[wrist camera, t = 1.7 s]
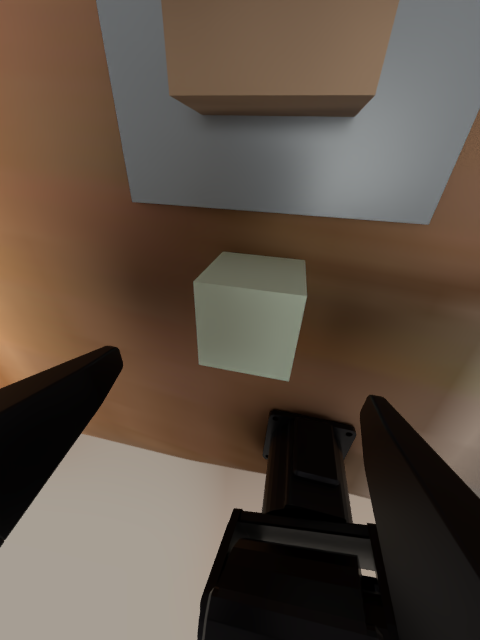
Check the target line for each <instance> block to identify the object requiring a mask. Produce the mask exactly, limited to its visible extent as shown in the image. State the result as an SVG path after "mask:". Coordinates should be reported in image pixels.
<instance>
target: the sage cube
mask: <svg viewBox="0 0 480 640" xmlns="http://www.w3.org/2000/svg"><path fill="white" fill-rule="evenodd" d="M193 285H194V300H195V315H196V329H197V344H198V359H199V365H203V366H209V367H214V368H219V369H225V370H230V371H236V372H241V373H246V374H252V375H257V376H262V377H268V378H273V379H278V380H284V381H289V379H290V374H291V369H292V364H293V360H294V355H295V350H296V346H297V341H298V336H299V332H300V327H301V322H302V318H303V313H304V308H305V303H306V299H307V286H306V266H305V260H298V259H289V258H279V257H270V256H261V255H251V254H242V253H232V252H222V253H221V254H220V255H219V256H218V257H217V258H216V259H215V260H214V261H213V262H212V263H211V264H210V265H209V266H208V267H207V268H206V269H205V270H204V271H203V272H202V273H201V274H200V275H199V276H198V277H197V278H196V279H195V280H194V281H193Z"/></svg>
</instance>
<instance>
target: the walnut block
mask: <svg viewBox="0 0 480 640" xmlns="http://www.w3.org/2000/svg"><path fill="white" fill-rule="evenodd" d="M398 4H399V0H161V5H162V16H163V28H164V39H165V51H166V63H167V74H168V86H169V96H171V97H173V98H174V99H176V100H178V101H179V102H181V103H183V104H185V105H186V106H188V107H190V108H191V109H193V110H195V111H196V112H198V113H200V114H202V115H238V116H320V117H355V116H356V115H357V114H358V113H359V112H360V111H361V110H362V109H363V107H364V106H365V105H366V104H367V103H368V102H369V101H370V100H371V99H372V98H373V97H374V96H375V94H376V90H377V86H378V82H379V78H380V75H381V71H382V67H383V63H384V59H385V55H386V51H387V47H388V43H389V39H390V35H391V31H392V27H393V24H394V20H395V16H396V12H397V8H398Z"/></svg>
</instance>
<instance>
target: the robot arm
mask: <svg viewBox="0 0 480 640" xmlns="http://www.w3.org/2000/svg"><path fill="white" fill-rule="evenodd" d="M122 368H123V361H122V358H121V354H120V351H119V349H118V348H117V347H113V346H104V347H102V348H99V349H97V350H94V351H92V352H90V353H87V354H85V355H82V356H80V357H77V358H75V359H72V360H70V361H67V362H65V363H62V364H60V365H57V366H55V367H53V368H50V369H48V370H45V371H43V372H40V373H38V374H35V375H33V376H30V377H28V378H25V379H23V380H20V381H18V382H16V383H13V384H11V385H8V386H6V387H3V388H1V389H0V547H1V545H2V544H3V543H4V540H5V539H6V538H7V537H8V535H9V534H10V533H11V531H12V530H13V528H14V527H15V526H16V524H17V523H18V521H19V520H20V518H21V517H22V516H23V514H24V513H25V511H26V510H27V509H28V507H29V506H30V504H31V503H32V502H33V500H34V499H35V497H36V496H37V495H38V493H39V492H40V490H41V489H42V488H43V486H44V484H45V483H46V482H47V480H48V479H49V478H50V476H51V475H52V474H53V472H54V471H55V469H56V468H57V467H58V465H59V463H60V462H61V461H62V460H63V458H64V457H65V455H66V454H67V452H68V451H69V450H70V448H71V447H72V445H73V444H74V443H75V441H76V440H77V438H78V437H79V436H80V434H81V433H82V431H83V430H84V429H85V427H86V426H87V424H88V423H89V422H90V420H91V419H92V417H93V416H94V415H95V413H96V412H97V410H98V409H99V407H100V406H101V404H102V403H103V401H104V400H105V398H106V396H107V394H108V393H109V391H110V389H111V388H112V386H113V384H114V382H115V381H116V379H117V377H118V375H119V374H120V372H121V370H122ZM360 424H361V436H362V447H363V458H364V466H365V472H366V477H367V482H368V487H369V492H370V497H371V502H372V507H373V512H374V517H375V521H376V524H371V523H367V525H362V524H353V521H352V515H351V507H350V501H349V494H348V487H347V480H346V474H345V467H344V458H345V457H346V455H347V453H348V451H349V449H350V447H351V445H352V443H353V441H354V439H355V437H356V431H355V428H354V427H352V426H349V425H344V424H340V423H335V422H330V421H325V420H320V419H316V418H311V417H306V416H301V415H296V414H292V413H287V412H282V411H277V410H273V411H271V412H270V414H269V420H268V426H267V432H266V438H265V444H264V450H263V457H264V458H265V459H267V460H268V464H267V473H266V481H265V490H264V499H263V507H262V513H257V512H248V511H243V510H242V509H235V508H234V509H233V512H232V515H231V518H230V520H229V522H228V525H227V527H226V530H225V533H224V536H223V539H222V541H221V544H220V547H219V550H218V553H217V556H216V558H215V561H214V564H213V567H212V570H211V572H210V575H209V578H208V581H207V584H206V587H205V589H204V592H203V595H202V598H201V602H200V616H199V625H198V640H480V498H479V497H478V496H477V495H476V494H475V493H474V492H473V491H472V490H471V489H470V488H469V487H468V486H467V485H466V484H465V483H464V481H463V480H462V479H461V478H460V477H459V476H458V475H457V474H456V473H455V472H454V471H453V470H452V469H451V468H450V467H449V466H448V465H447V463H446V462H445V461H444V460H443V459H442V458H441V457H440V456H439V455H438V454H437V453H436V452H435V451H434V450H433V449H432V448H431V447H430V446H429V444H428V443H427V442H426V441H425V440H424V439H423V438H422V437H421V436H420V435H419V434H418V433H417V432H416V431H415V430H414V429H413V428H412V426H411V425H410V424H409V423H408V422H407V421H406V420H405V419H404V418H403V417H402V416H401V415H400V414H399V413H398V412H397V411H396V410H395V409H394V407H393V406H392V405H391V404H390V403H389V402H388V401H387V400H386V399H385V398H384V397H381V396H376V395H369V396H368V397H367V399H366V401H365V403H364V405H363V407H362V409H361V412H360ZM360 568H361V569H366V570H372V571H375V573H376V578H374V577H368V576H362V574H361V569H360Z"/></svg>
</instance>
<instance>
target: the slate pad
mask: <svg viewBox="0 0 480 640" xmlns="http://www.w3.org/2000/svg"><path fill="white" fill-rule="evenodd" d="M96 3H97V9H98V14H99V20H100V25H101V31H102V36H103V42H104V48H105V53H106V59H107V64H108V70H109V76H110V81H111V87H112V92H113V98H114V103H115V109H116V115H117V120H118V126H119V131H120V137H121V142H122V148H123V154H124V159H125V165H126V170H127V176H128V181H129V187H130V193H131V198H132V202H140V203H153V204H166V205H180V206H193V207H206V208H219V209H232V210H245V211H258V212H271V213H284V214H297V215H310V216H323V217H336V218H349V219H362V220H375V221H388V222H401V223H415V224H428V225H429V223H430V220H431V218H432V216H433V214H434V211H435V209H436V207H437V204H438V202H439V200H440V198H441V195H442V193H443V191H444V188H445V186H446V184H447V182H448V179H449V177H450V175H451V172H452V170H453V168H454V166H455V163H456V161H457V159H458V156H459V154H460V152H461V150H462V147H463V145H464V143H465V140H466V138H467V136H468V134H469V131H470V129H471V127H472V124H473V122H474V120H475V118H476V115H477V113H478V111H479V108H480V0H399V4H398V8H397V12H396V16H395V20H394V24H393V27H392V31H391V35H390V39H389V43H388V47H387V51H386V55H385V59H384V63H383V67H382V71H381V75H380V78H379V82H378V86H377V90H376V94H375V96H374V97H373V98H372V99H371V100H370V101H369V102H368V103H367V104H366V105H365V106H364V107H363V109H362V110H361V111H360V112H359V113H358V114H357V115H356V116H355V117H320V116H238V115H202V114H200V113H198V112H196V111H195V110H193V109H191V108H190V107H188V106H186V105H185V104H183V103H181V102H179V101H178V100H176V99H174V98H173V97H171V96H169V86H168V74H167V63H166V51H165V39H164V28H163V16H162V5H161V0H96Z"/></svg>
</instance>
